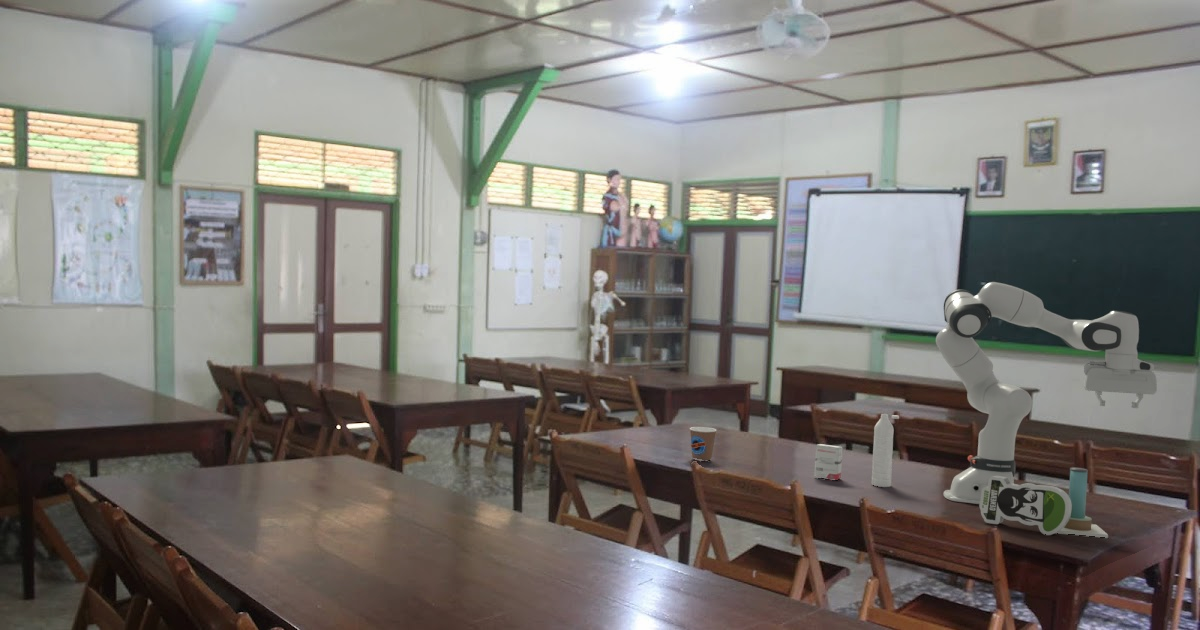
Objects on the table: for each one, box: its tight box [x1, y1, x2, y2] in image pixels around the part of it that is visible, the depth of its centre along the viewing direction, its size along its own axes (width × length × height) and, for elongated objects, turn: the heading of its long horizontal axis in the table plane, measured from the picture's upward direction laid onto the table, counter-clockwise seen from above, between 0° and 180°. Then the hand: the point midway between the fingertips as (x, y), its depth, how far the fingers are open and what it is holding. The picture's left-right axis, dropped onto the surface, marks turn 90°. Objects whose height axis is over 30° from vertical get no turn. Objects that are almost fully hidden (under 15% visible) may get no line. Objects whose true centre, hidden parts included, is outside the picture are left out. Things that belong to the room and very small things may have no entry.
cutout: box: [978, 476, 1072, 536], centre depth 273 cm, size 15×3×25 cm
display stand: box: [1056, 515, 1109, 539], centre depth 274 cm, size 14×12×4 cm
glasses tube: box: [1068, 467, 1089, 519], centre depth 274 cm, size 5×5×14 cm
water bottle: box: [871, 413, 900, 488], centre depth 326 cm, size 9×6×25 cm
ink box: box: [813, 443, 843, 481], centre depth 336 cm, size 9×5×12 cm, turn 58°
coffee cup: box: [689, 426, 717, 460], centre depth 362 cm, size 10×10×12 cm
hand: (1118, 406), depth 295 cm, fingers open, 8 cm apart
